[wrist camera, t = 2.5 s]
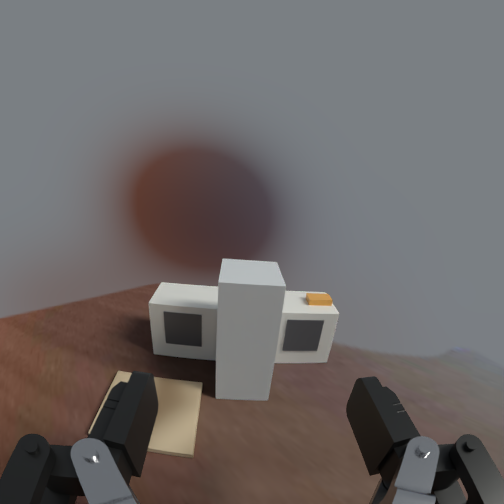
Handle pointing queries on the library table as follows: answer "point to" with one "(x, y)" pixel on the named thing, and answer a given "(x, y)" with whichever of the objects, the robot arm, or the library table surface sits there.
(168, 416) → the coaster
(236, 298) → the block
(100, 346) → the library table surface
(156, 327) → the socket bar
